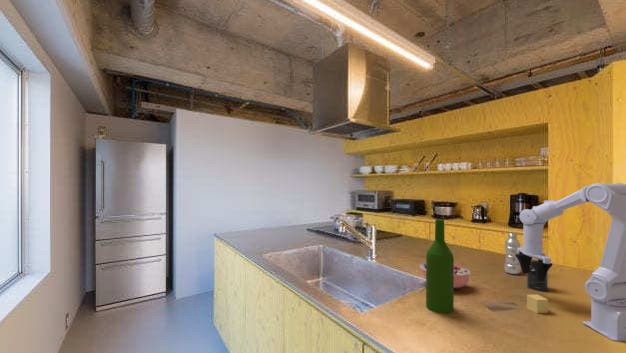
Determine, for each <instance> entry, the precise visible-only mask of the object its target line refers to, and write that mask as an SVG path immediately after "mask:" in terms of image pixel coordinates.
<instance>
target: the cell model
mask: <svg viewBox="0 0 626 353" xmlns="http://www.w3.org/2000/svg"><path fill="white" fill-rule="evenodd" d="M419 268H420V270H421V273H422V275H423V277H424V279H425V280H426V262H424V263H421V264H419ZM470 277H471V270H469V269H467V268H464V267H462V266H459V265H458V264H457V265H456V264H454V289H461V288H463V287H465V286H466V285H467V284H468V283H469V282H470Z"/></svg>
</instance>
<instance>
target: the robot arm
mask: <svg viewBox="0 0 626 353" xmlns="http://www.w3.org/2000/svg"><path fill="white" fill-rule="evenodd" d="M585 203H591V204H593V205H595V206H597V207H598V208H600V209H602V210H603V211H605V212H606V213H607V214H608V215H609V216H610V217H611V222H610V226H609V228H608V229H609V230H608V233H607V238H606V241H605V245H604V249H603V253H602V256H601V259H600V260H601V261H600V264H599V267H598V268H596V269H595V270H594V271H593V272H592V273H591V276H590V278H589V279H588V280H586V281H585V283H584V290H585V292H586V293H587V295H588V296H589V298H590V299H591V300H590V301H591V304H590V307H591V308H590V311H591V312H590V313H591V314H590V315H591V316H590V319H591V320H590V321H587V320H585V321H582V324H584V325H586V326H587V327H589V328H590V329H592V330H594V331H596V332H598V333H600V334H601V335H603V336H604V337H606V338H608V339H610V340H612V341H613V342H616V341H617V342H626V183H621V182H617V183H599V182H596V183H592V184H590V185H589V186H584V187H582V188H581V189H579V190H577V191H575V192H574V193H571V194H569V195H567V196H565V197H563V198H561V199H559V200H552V199H551V200H549V199H547V200H546V199H545V200H543V203H542V204H539V205H534V206H532V208H531V209H528V208H524V209H523V210H521V212H519V220H520V222H521V223H522V224H523V227H522V230H523V231H522V232H523V233H522V234H523V239H522V240H523V244H522V245H523V246H522V247H520V248H518V247H517V252H518V253H519V254H515V256H516V257H517V259H518V261H519V263H520V269H521V272H522V273H523V274H527V273H529V271H530V263H531V261H532V262H533V264H534V267H535V271H536V278H537V280H538V281H544V279H545V276H546V274H547V272H549V271H550V269H551V267H553V262H552V259H551V257H549V256H547V255H546V252H543V251H544V250H543V249H544V245H543V243H544V242H543V241H544V239H543V237H544V236H543V235H544V234H543V233H544V232H543V229H544V227H545V224H546V222H548V221H549V220H552V219H556V218H558V217H560V216H563V214H564V213H565V210H568V209H571V208H573V207H575V206H577V207H578V206H579V205H582V204H585ZM533 259H535V260H533Z"/></svg>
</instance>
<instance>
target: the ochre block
mask: <svg viewBox="0 0 626 353" xmlns="http://www.w3.org/2000/svg"><path fill="white" fill-rule="evenodd" d="M526 309H527V310H530V311H531V312H534V313H536V314H548V312H549V299H548V298H546V297H544V296H541V295H539V294H527V295H526Z"/></svg>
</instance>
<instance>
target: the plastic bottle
mask: <svg viewBox="0 0 626 353" xmlns="http://www.w3.org/2000/svg"><path fill="white" fill-rule="evenodd" d="M521 245H522V244H521V241H519V240H518V233H517V232H512V231H511V232H508V233H507V238H506V240H505V241H504V248H505V263H504V267H503V268H504V270H505V272H506V273H508V274H509V275H519V274H520V273H521V271H522V269H521V266H520V263H519V261H518V259H517V257H516V256H515V254H519V253H518V252H517V247H518V248H521Z"/></svg>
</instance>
